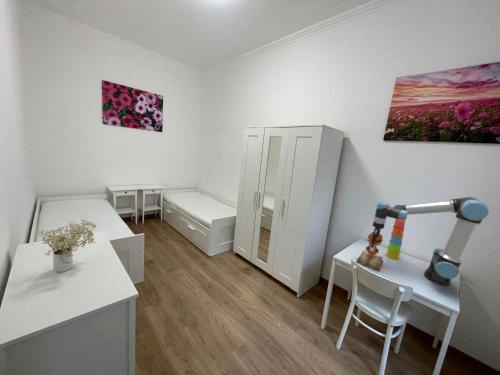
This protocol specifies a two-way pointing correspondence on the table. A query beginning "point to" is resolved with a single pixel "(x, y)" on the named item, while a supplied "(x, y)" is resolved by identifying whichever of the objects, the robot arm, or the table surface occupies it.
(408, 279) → the table surface
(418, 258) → the table surface
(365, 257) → the egg carton
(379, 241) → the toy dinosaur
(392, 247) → the stacking cups
